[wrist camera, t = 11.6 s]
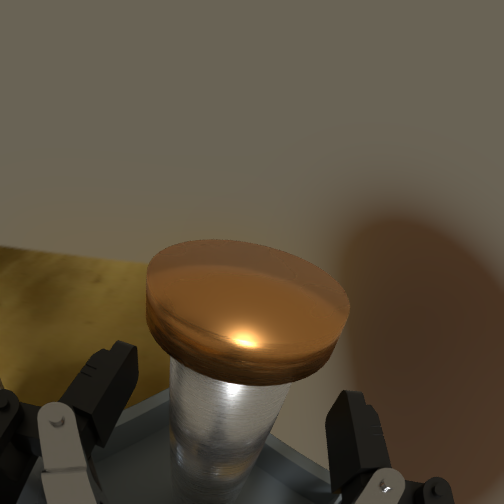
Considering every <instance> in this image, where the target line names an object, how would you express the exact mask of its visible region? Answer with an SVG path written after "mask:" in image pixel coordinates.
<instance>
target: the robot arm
mask: <svg viewBox="0 0 504 504" xmlns="http://www.w3.org/2000/svg"><path fill="white" fill-rule="evenodd" d="M138 374H139V371H138V354H137V347H136V346H134V345H131V344H128V343H125V342H122V341H119V340H118V341H116V342H115V344H114V345H113V347H112V348H111V349H110V351H108V350H106V349H101V350H100V351H98V352H96V353H95V354H93V355H92V356H91V357H90V359H89V360H88V361H87V363H86V365H85V366H84V367H83V368H82V369H81V371H80V373H79V374H78V375H77V376H76V378H75V379H74V380H73V382H72V383H71V385H70V386H69V387H68V389H67V390H66V392H65V393H64V394H63V396H62V397H61V398H60V400H59V401H58V402H50V403H47V404H45V405H44V406H43V407H39V406H34V405H30V404H26V403H22V402H19V400H18V398H17V396H16V395H15V394H14V393H13V392H12V391H10V390H7V389H0V504H16V503H17V501H18V499H19V497H20V494H21V492H22V490H23V488H24V486H25V484H26V481H27V479H28V477H29V475H30V473H31V471H32V469H33V467H34V465H35V463H36V461H37V459H38V457H39V456H40V457H43V462H44V471H42V473H41V478H42V484H43V488H44V492H45V496H46V500H47V504H110V503H109V501H108V499H107V497H106V495H105V493H104V490H103V487H102V484H101V481H100V479H99V476H98V473H97V469H96V466H95V463H94V460H93V456H92V453H91V452H92V450H93V448H94V446H95V445H97V446H99V447H102V448H105V446H106V443H107V441H108V439H109V437H110V435H111V433H112V431H113V429H114V427H115V425H116V423H117V421H118V419H119V418H120V416H121V414H122V412H123V410H124V408H125V406H126V404H127V402H128V400H129V398H130V396H131V394H132V392H133V390H134V388H135V386H136V384H137V380H138ZM380 426H381V424H380V420H379V417H378V414H377V413H376V411H375V410H374V408H373V407H372V406H371V405H366V403H365V399H364V396H363V393H362V392H358V391H347V390H343V391H342V392H341V393H340V395H339V396H338V398H337V400H336V401H335V403H334V404H333V406H332V408H331V409H330V411H329V412H328V414H327V417H326V422H325V429H326V438H327V448H328V459H329V470H330V482H331V494H341V496H342V500H341V501H340V502H339V503H338V504H454V500H453V495H452V491H451V487H450V485H449V483H448V482H447V481H446V480H444V479H443V478H440V477H433V478H431V479H429V480H428V481H426V482H425V483H418V482H413V481H407V480H404V478H403V476H402V475H401V474H400V473H399V472H398V471H396V470H395V469H392V467H391V464H390V459H389V455H388V451H387V447H386V443H385V439H384V436H383V432H382V428H381V427H380Z"/></svg>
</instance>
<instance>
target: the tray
mask: <svg viewBox="0 0 504 504" xmlns="http://www.w3.org/2000/svg"><path fill="white" fill-rule="evenodd" d="M169 388H170V387H169ZM169 388H167V389H165V390H164V391H162V392H160V393H158V394H156V395H154V396H152V397H150V398H148V399H146V400H144V401H142V402H140V403H138V404H136V405H134V406H131V407H129V408H127V409H125V410H123V412H122V414H121V416H120V418H119V419H118V421H117V423H116V425H115V427H114V429H113V431H112V433H111V435H110V437H109V439H108V441H107V443H106V446H105V448H102V447H99V446H97V445H95V446H94V448H93V450H92V452H91V453H92V456H93V460H94V463H95V466H96V469H97V473H98V476H99V479H100V481H101V484H102V487H103V490H104V493H105V495H106V497H107V499H108V501H109V503H110V504H173V499H172V485H171V466H170V433H169ZM341 500H342V496H341V494H331V482H330V471H328V470H327V469H325V468H323V467H322V466H320V465H318V464H317V463H315V462H313V461H312V460H310V459H308V458H307V457H305V456H304V455H302V454H300V453H299V452H297V451H296V450H294V449H293V448H291V447H289V446H288V445H286V444H285V443H284V442H281V440H279V439H278V438H276V437H275V436H273V435H272V434H270V433H269V435H268V437H267V439H266V442H265V444H264V446H263V448H262V450H261V452H260V454H259V456H258V458H257V460H256V462H255V464H254V466H253V468H252V470H251V472H250V474H249V476H248V477H247V479H246V481H245V483H244V485H243V487H242V489H241V491H240V492H239V494H238V496H237V498H236V500H235V501H234V503H233V504H338V503H339V502H340V501H341Z"/></svg>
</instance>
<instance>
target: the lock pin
mask: <svg viewBox="0 0 504 504" xmlns="http://www.w3.org/2000/svg"><path fill="white" fill-rule="evenodd" d="M349 311H350V302H349V299H348V296H347V294H346V293H345V291H344V289H343V288H342V287H341V286H340V284H339V283H338V282H337V281H336V280H335V279H334V278H333V277H331V276H330V275H329V274H327V273H326V272H325V271H323V270H322V269H320V268H319V267H317V266H315V265H313V264H312V263H310V262H308V261H306V260H303V259H301V258H299V257H297V256H294V255H292V254H289V253H287V252H284V251H280V250H277V249H274V248H270V247H267V246H262V245H258V244H253V243H247V242H241V241H232V240H196V241H188V242H183V243H179V244H176V245H172V246H170V247H168V248H165V249H164V250H162V251H160V252H159V253H158V254H156V255H155V256H154V257H153V258H152V260H151V261H150V263H149V265H148V268H147V281H146V320H147V325H148V327H149V330H150V332H151V334H152V336H153V337H154V339H155V341H156V342H157V343H158V344H159V345H160V346H161V348H162V349H163V350H164V351H165V352H167V353H168V354H169V355H170V388H169V433H170V466H171V485H172V499H173V504H233V503H234V501H235V500H236V498H237V496H238V494H239V492H240V491H241V489H242V487H243V485H244V483H245V481H246V479H247V477H248V476H249V474H250V472H251V470H252V468H253V466H254V464H255V462H256V460H257V458H258V456H259V454H260V452H261V450H262V448H263V446H264V444H265V442H266V439H267V437H268V435H269V433H270V431H271V429H272V427H273V424H274V422H275V420H276V418H277V416H278V414H279V411H280V409H281V407H282V404H283V402H284V400H285V398H286V395H287V393H288V391H289V388H290V386H291V383H292V382H295V381H298V380H301V379H304V378H306V377H308V376H310V375H312V374H313V373H315V372H317V371H318V370H319V369H320V368H322V367H323V366H324V365H325V364H326V363H327V361H328V360H329V359H330V357H331V355H332V353H333V351H334V349H335V346H336V344H337V342H338V339H339V337H340V335H341V332H342V330H343V328H344V325H345V323H346V320H347V318H348V315H349Z"/></svg>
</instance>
